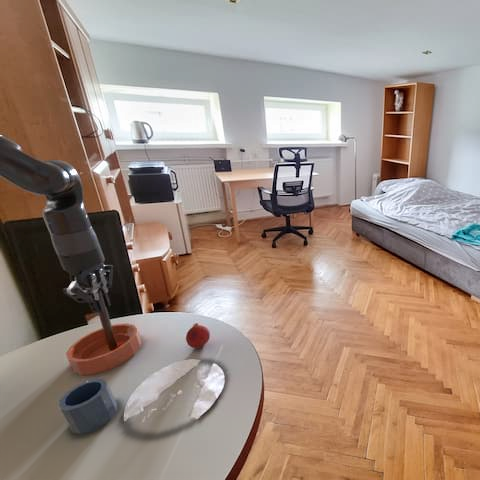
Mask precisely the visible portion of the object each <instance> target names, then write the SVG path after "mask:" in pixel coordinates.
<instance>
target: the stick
mask: <svg viewBox="0 0 480 480" xmlns="http://www.w3.org/2000/svg"><path fill="white" fill-rule="evenodd" d="M97 292H98V295H99V298H100V300H101V302H102V305H103V307H104V311H102V312H99V313H97V314H98V317H99V320H100V324H101V328H103V331H104V334H105V337H106V340H107V344H108V347H109V350H110V351H113V350H115V349H116V347H117V342H116V339H115V335H114V332H113V329H112V325H113V324H112V322H111V318H110V315H109V312H108V307H106V305H105V301H104V298H103V294H102V291H100V290H98V291H97Z"/></svg>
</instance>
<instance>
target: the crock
mask: <svg viewBox="0 0 480 480" xmlns="http://www.w3.org/2000/svg"><path fill="white" fill-rule="evenodd" d="M57 406H58V408H59V410H60V412H61V414H62V416H63V418H64V419H65V421H66V423H67V424H68V426H69V428H70V430H71V431H72V433H73V434H76V435H83V434H89V433H90V432H94V431H95V430H97V429H99V428H101V427H102V426H104V425H105V424H107V423H108V422H109V421H110V420H111V419H113V417H114V415H115V414H116V412H117V411H118V410H117V409H118V403H117V401H116V399H115V397H114V395H113V393H112V390H111V388H110V386H109V384H108V382H107V381H106V380H105V379H104V378H93V379H89V380H86V381H84V382H81V383H79V384H76V385H75V386H74V387H73V388H71V389H69V390H68V391H67V392H65V393H64V395H62V397H61V398H60V399H59V401H58V405H57Z"/></svg>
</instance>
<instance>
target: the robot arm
mask: <svg viewBox="0 0 480 480" xmlns="http://www.w3.org/2000/svg"><path fill="white" fill-rule="evenodd" d="M0 177H1V178H2V179H4V180H5V181H7V182H8V183H10V184H13V185H14V186H15V187H17V188H19V189H20V190H23V191H26V192H29V193H30V194H34V195H38V196H42V197H44V198H45V201H46V204H45V207H44V208H43V209H42V213H41V214H42V218H43V220H44V223H45V225H46V228H47V230H48V233H49V235H50V238H51V243H52V246H53V249H54V251H55V253H56V255H57V258H58V260H59V263H60V265H61V267H62V270H64V271H66V272H67V273H68V274H69V280H70V282H71V283H70V284H69V286H68V287H64V288H63V289H62V293H63V294H65V295H66V296H67V297H69V298H71V299H72V300H74V301H75V302H77V303H79V304H82V303H88V306H89V307H90V311H91V313H94V314H95V313H97V314H98V313H99V312H102V311H104V307H103V305H102V302H101V300H100V298H99V295H98V292H97V291H98V290H100V291H102V294H103V298H104V301H105V305H106V308H109V307H110V306H111V305H112V304H111V300H110V297H109V294H108V292H109V288H112V287H113V277H114V265H113V264H104V262H105V261H106V260H105V256H104V254H103V251H102V247H101V244H100V242H99V239H98V237H97V234H96V232H95V230H94V229H93V227H92V224H91V221H90V218H89V215H88V213H87V210H86V208H85V197H84V191H83V184H82V180H81V177H80V175H79V173H78V172H77V169H75V168H74V167H73V166H72V165H71V164H69V163H68V162H66V161H63V160H60V159H46V160H45V159H44V160H40V159H37V158H36V157H33V156H31V155H30V154H28V153H26V152H24V151H23V149H22V148H21V146H20V145H19V144H18V143H16V142H15V141H13V140H12V139H9V138H8V137H5V136H3V135H1V134H0ZM90 294H91V295H90Z"/></svg>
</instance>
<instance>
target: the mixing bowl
mask: <svg viewBox="0 0 480 480" xmlns="http://www.w3.org/2000/svg"><path fill="white" fill-rule="evenodd" d="M111 325H112V329H113V332H114V335H115V339H116V342H117V346H118V345H119V344H122V343H124V344H123V345H121V346H120V347H119V348H117V349H115V350H113V351H110V350H109V347H108V344H107V340H106V337H105V334H104V331H103V327H101V328H99V329H96V330H93V331H92V332H88V334H85V335H84V336H82V337H80V338H79V339H77V340H76V341H75V342H74V343H73V344H72V345H70V346H69V348H68V350H67V352H66V353H65V355H66V358H67V360H68V362H69V364H70V367H71V368H72V370H73V373H75V374H77V375H78V374H79V375H81V376H87V375H88V376H89V375H96V374H101V373H103V372H107V371H110V370H112V369H114V368H115V367H118V366H119V365H122V364H124V363H125V362H126V361H128V360H130V359H131V358H132V357H133V356H135V355H136V353H137V352H138V351H139V350H140V349H141V347H142V342H143V340H142V337H141V335H140V332H139V329H138V328H137V327H136V325H135V324H132V323H116V324H111Z"/></svg>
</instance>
